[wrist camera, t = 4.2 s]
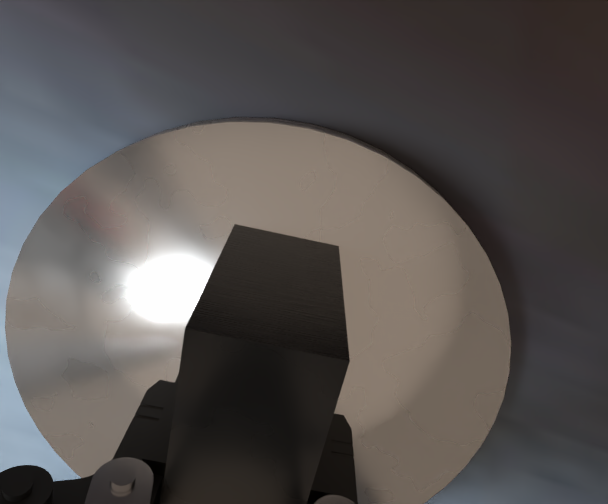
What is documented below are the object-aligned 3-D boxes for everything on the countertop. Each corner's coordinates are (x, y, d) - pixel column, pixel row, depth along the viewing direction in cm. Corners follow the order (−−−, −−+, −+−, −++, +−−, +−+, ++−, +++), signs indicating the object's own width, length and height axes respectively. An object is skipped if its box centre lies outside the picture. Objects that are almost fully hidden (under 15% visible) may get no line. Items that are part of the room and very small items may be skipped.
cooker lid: (19, 58, 13) (-233, 69, 7) (583, 184, 14) (779, 289, 8) (25, 484, 19) (-107, 681, 13) (416, 553, 20) (456, 767, 14)
